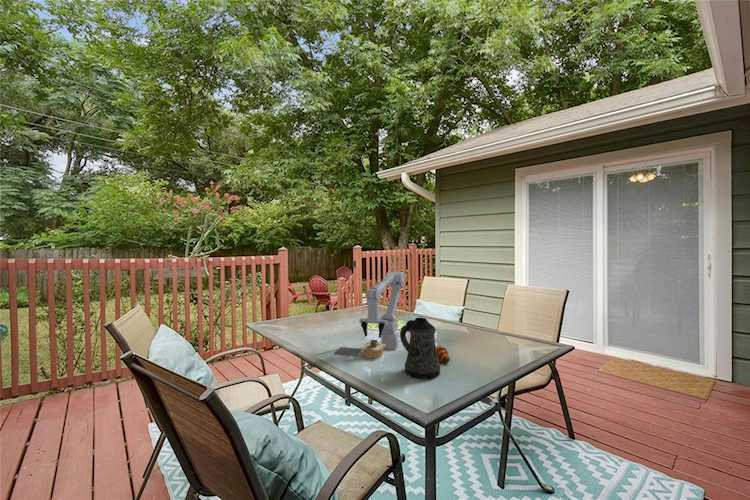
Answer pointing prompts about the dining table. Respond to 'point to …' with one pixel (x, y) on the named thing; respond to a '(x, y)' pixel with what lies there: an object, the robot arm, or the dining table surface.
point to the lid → (373, 346)
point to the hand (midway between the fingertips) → (372, 336)
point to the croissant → (442, 354)
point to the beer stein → (420, 349)
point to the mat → (347, 351)
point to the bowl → (373, 354)
